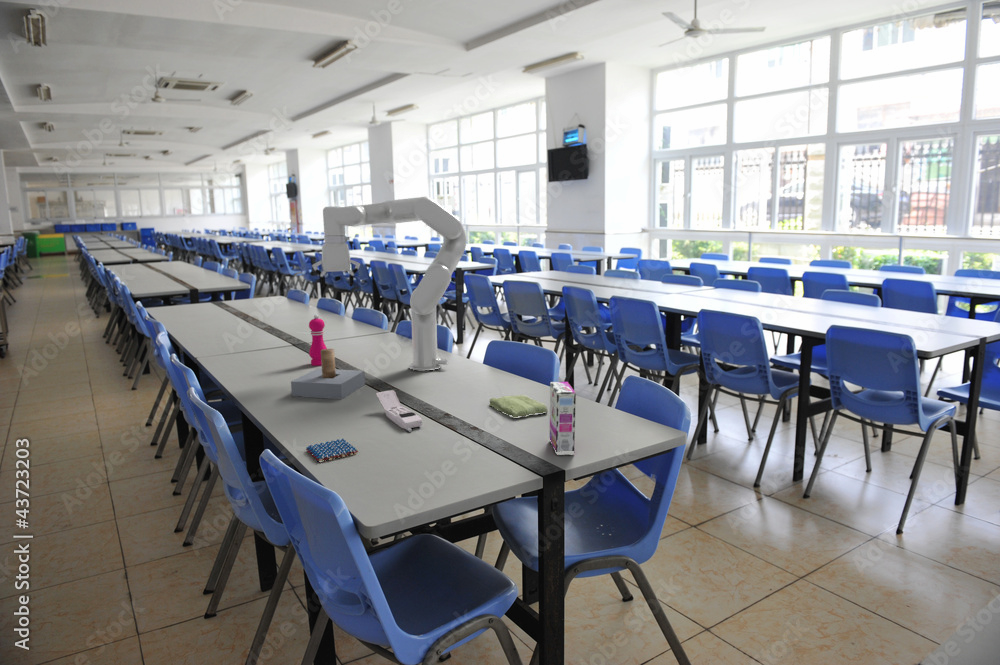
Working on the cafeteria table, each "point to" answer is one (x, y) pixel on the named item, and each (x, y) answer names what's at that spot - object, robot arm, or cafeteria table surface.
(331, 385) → the socket block
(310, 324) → the pepper mill
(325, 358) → the peg
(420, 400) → the cafeteria table surface
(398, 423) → the mobile phone
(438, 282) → the robot arm
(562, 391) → the candy bar box
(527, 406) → the washcloth
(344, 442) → the woven mat
